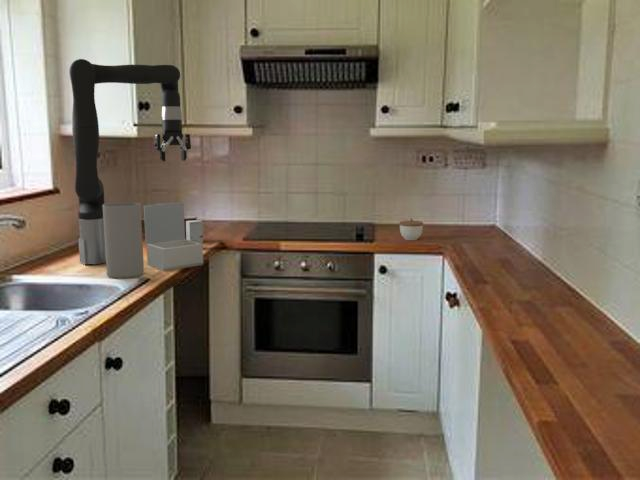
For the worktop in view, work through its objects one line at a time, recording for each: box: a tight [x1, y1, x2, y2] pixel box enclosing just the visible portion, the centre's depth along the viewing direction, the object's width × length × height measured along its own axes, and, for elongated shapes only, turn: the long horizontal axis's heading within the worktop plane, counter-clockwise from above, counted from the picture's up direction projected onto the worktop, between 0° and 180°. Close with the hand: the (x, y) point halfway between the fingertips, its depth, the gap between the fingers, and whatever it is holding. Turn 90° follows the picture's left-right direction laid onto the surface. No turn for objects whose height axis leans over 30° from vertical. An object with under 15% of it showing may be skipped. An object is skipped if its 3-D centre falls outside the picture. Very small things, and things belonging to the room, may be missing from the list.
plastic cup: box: [182, 216, 198, 240], centre depth 288 cm, size 11×11×12 cm
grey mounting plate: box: [143, 201, 185, 245], centre depth 248 cm, size 16×14×6 cm
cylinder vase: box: [103, 201, 145, 279], centre depth 225 cm, size 12×12×25 cm
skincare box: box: [186, 219, 204, 245], centre depth 273 cm, size 6×4×12 cm
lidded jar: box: [398, 218, 424, 241], centre depth 295 cm, size 11×11×9 cm
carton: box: [145, 239, 204, 272], centre depth 242 cm, size 16×14×8 cm
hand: (173, 160), depth 252 cm, fingers open, 8 cm apart
